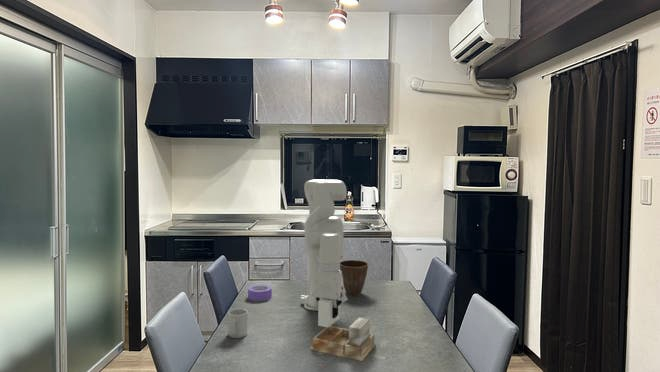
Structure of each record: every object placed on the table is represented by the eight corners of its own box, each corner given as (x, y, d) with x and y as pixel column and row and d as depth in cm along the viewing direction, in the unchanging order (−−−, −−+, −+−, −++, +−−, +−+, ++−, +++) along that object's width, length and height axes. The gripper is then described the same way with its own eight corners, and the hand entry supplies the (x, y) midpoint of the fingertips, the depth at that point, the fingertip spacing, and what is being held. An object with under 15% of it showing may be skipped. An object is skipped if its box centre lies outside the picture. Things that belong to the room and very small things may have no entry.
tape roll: (276, 297, 205) (276, 287, 205) (258, 303, 197) (258, 292, 197) (261, 292, 213) (261, 283, 213) (243, 297, 205) (243, 288, 204)
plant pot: (368, 298, 205) (369, 267, 205) (339, 298, 205) (339, 266, 205) (366, 289, 220) (367, 260, 219) (338, 289, 220) (339, 260, 220)
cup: (249, 331, 163) (249, 309, 162) (241, 341, 153) (241, 318, 152) (232, 330, 163) (232, 308, 163) (223, 340, 153) (223, 317, 153)
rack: (310, 349, 147) (311, 322, 146) (327, 335, 160) (327, 309, 159) (362, 361, 138) (362, 332, 138) (375, 344, 152) (375, 318, 151)
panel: (318, 325, 147) (318, 300, 147) (329, 316, 156) (330, 293, 156) (328, 327, 146) (328, 302, 145) (339, 318, 155) (339, 294, 154)
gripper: (304, 266, 150) (304, 315, 151) (346, 271, 143) (346, 323, 144) (314, 262, 157) (313, 309, 158) (354, 267, 150) (353, 316, 151)
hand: (329, 315), depth 151 cm, fingers closed on panel, 4 cm apart
